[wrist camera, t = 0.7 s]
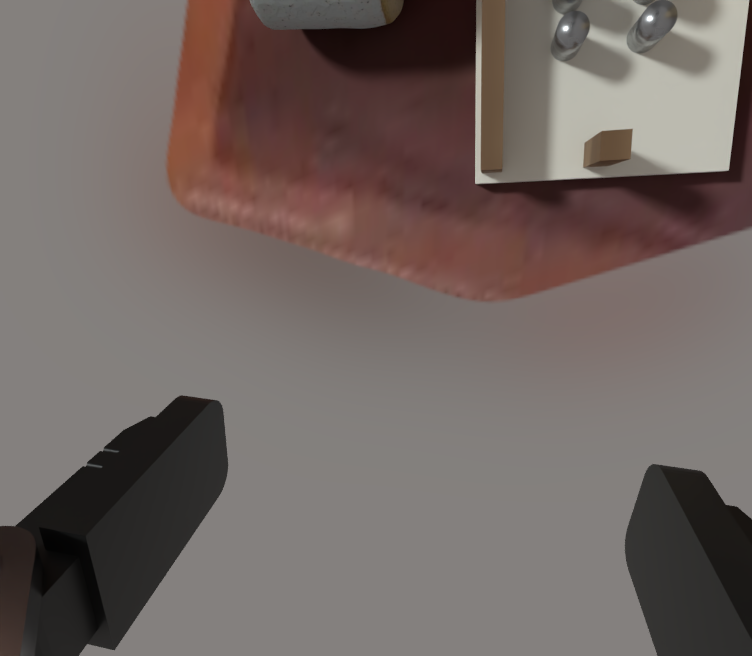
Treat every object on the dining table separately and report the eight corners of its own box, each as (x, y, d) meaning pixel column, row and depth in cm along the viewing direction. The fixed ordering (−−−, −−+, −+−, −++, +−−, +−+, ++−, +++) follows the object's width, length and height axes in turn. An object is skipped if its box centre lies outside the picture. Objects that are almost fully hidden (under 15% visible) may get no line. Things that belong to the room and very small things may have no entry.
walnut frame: (629, -156, 25) (660, -238, 21) (608, 166, 29) (630, 158, 24) (484, -128, 27) (482, -198, 22) (481, 173, 31) (479, 167, 26)
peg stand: (760, -180, 25) (773, -199, 24) (719, 171, 29) (728, 170, 28) (477, -126, 28) (477, -140, 27) (476, 184, 32) (475, 183, 31)
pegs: (664, -32, 26) (684, -60, 24) (656, 51, 27) (675, 34, 24) (553, -16, 28) (559, -41, 25) (550, 62, 29) (556, 47, 26)
